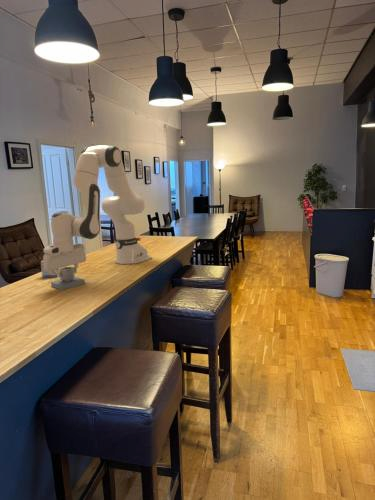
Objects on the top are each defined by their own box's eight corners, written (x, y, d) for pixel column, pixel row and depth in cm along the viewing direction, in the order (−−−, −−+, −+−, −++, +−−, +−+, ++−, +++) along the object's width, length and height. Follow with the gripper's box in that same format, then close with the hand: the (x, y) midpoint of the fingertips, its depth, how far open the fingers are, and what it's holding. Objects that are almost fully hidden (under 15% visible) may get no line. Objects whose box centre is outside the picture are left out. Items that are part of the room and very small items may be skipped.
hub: (70, 275, 171) (69, 266, 170) (77, 278, 167) (76, 268, 166) (58, 279, 167) (56, 268, 166) (64, 281, 162) (63, 271, 161)
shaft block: (74, 280, 175) (72, 265, 173) (85, 283, 168) (83, 268, 167) (51, 286, 166) (49, 271, 165) (61, 290, 160) (59, 274, 158)
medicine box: (42, 278, 181) (40, 262, 179) (43, 276, 185) (41, 260, 183) (58, 276, 183) (56, 260, 181) (59, 274, 187) (57, 258, 185)
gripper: (80, 242, 173) (83, 269, 176) (39, 249, 158) (43, 278, 161) (87, 243, 169) (90, 271, 172) (46, 251, 154) (50, 281, 157)
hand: (67, 274), depth 166 cm, fingers closed on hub, 6 cm apart
